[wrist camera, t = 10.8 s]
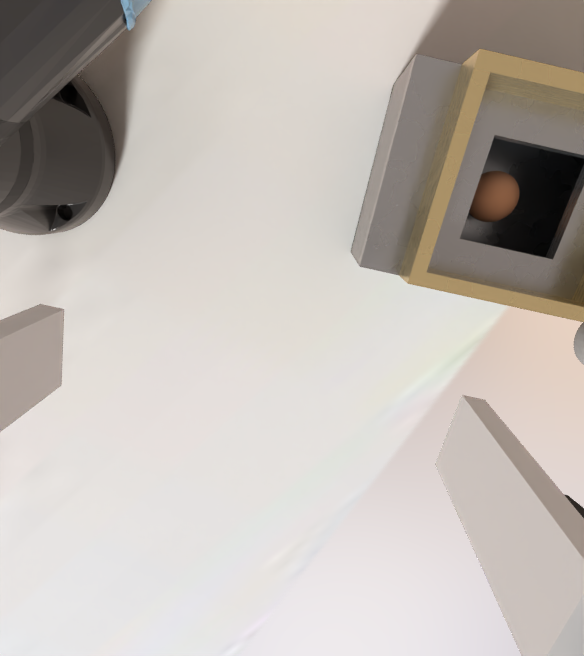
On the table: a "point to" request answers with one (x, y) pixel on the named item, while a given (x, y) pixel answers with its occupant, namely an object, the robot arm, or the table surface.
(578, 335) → the coffee cup
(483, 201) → the ball
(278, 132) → the table surface
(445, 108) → the open square box
